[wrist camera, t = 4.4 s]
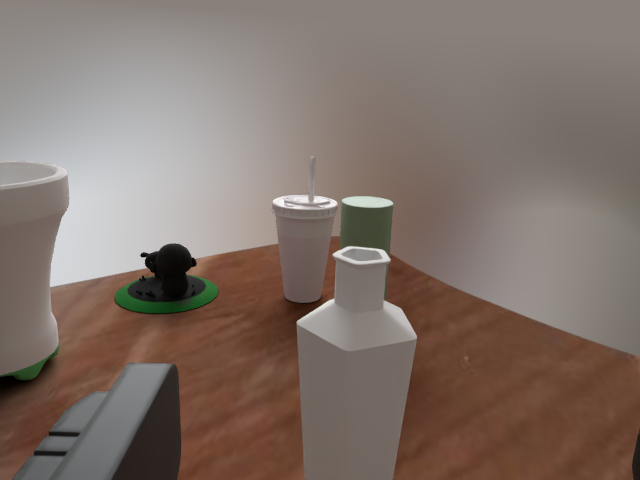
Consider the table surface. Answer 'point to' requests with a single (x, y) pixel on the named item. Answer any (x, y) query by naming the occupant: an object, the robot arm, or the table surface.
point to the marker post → (367, 224)
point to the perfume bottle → (354, 373)
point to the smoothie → (304, 240)
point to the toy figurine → (167, 284)
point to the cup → (28, 263)
